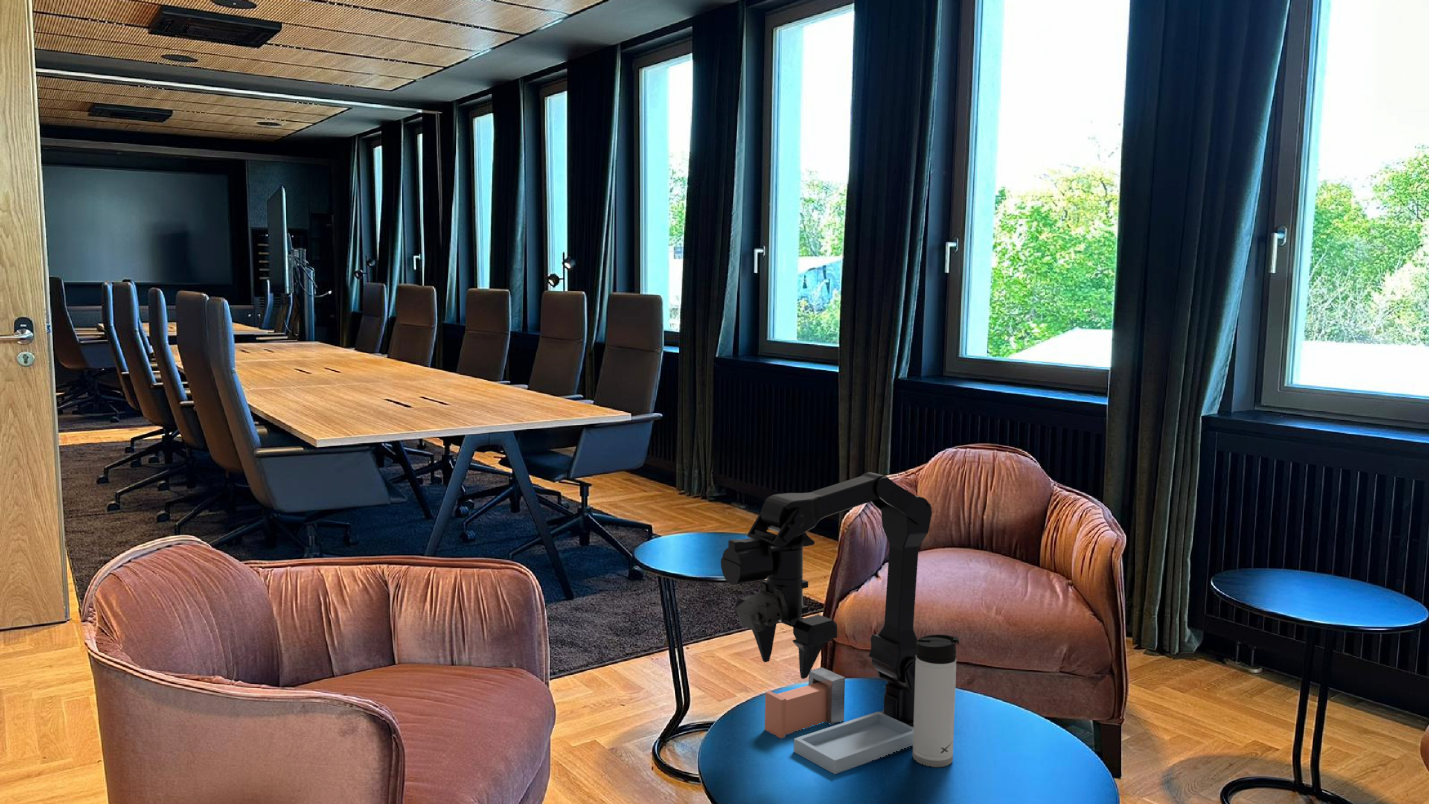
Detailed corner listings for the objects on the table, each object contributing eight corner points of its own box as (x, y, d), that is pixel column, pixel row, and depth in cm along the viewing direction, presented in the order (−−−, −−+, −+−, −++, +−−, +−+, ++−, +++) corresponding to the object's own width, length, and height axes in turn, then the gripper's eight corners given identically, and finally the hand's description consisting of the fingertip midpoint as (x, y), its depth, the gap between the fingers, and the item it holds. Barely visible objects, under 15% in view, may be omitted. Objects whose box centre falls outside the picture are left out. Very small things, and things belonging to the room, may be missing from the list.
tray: (878, 723, 176) (878, 711, 175) (920, 743, 168) (920, 730, 168) (793, 751, 164) (794, 738, 164) (834, 774, 157) (835, 760, 156)
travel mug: (955, 770, 158) (960, 645, 156) (912, 765, 160) (916, 641, 158) (954, 752, 165) (958, 632, 163) (912, 748, 166) (916, 629, 164)
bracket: (820, 709, 181) (821, 667, 181) (843, 721, 176) (845, 677, 176) (807, 713, 180) (808, 670, 179) (831, 725, 175) (832, 681, 174)
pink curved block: (828, 710, 181) (828, 674, 181) (844, 718, 178) (845, 681, 177) (764, 729, 173) (765, 692, 172) (780, 738, 169) (781, 700, 169)
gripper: (709, 571, 165) (709, 664, 166) (785, 598, 150) (785, 700, 152) (761, 559, 171) (762, 649, 173) (840, 584, 157) (839, 682, 158)
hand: (784, 669), depth 164 cm, fingers open, 9 cm apart
